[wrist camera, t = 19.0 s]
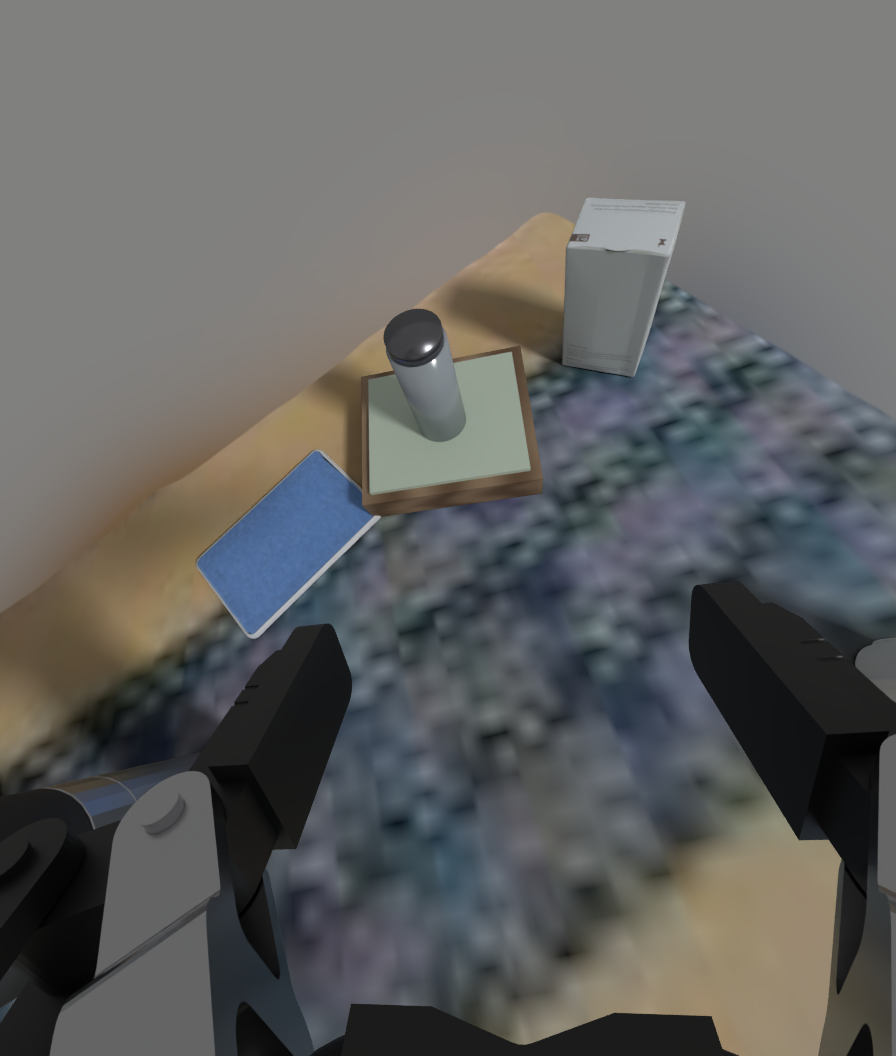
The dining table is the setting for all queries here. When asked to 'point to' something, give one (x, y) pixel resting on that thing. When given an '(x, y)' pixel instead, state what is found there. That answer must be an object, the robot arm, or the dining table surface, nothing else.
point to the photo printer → (880, 665)
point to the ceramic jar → (426, 373)
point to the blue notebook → (285, 542)
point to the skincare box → (616, 280)
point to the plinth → (451, 441)
